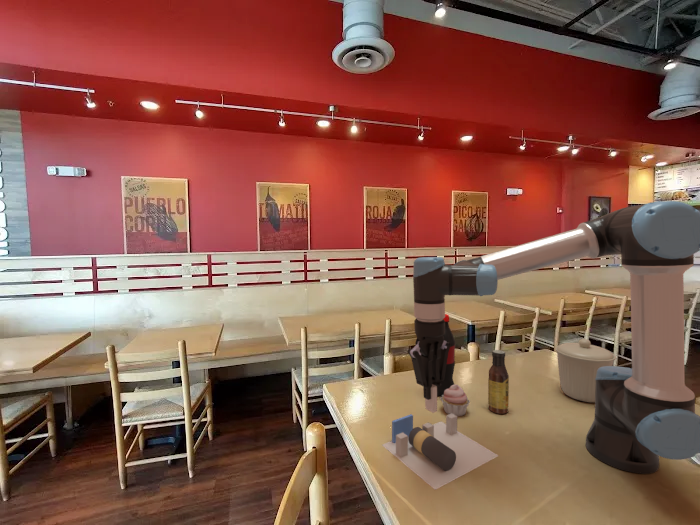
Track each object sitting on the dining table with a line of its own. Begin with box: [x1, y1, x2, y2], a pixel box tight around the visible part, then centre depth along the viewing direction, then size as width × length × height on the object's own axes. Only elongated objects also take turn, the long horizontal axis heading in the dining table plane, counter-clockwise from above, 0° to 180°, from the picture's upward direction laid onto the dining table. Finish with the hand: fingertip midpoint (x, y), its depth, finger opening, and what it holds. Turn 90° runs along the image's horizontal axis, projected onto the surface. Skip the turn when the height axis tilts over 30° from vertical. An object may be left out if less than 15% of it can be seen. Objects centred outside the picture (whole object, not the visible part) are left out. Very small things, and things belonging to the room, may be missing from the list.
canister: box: [554, 338, 617, 404], centre depth 123 cm, size 18×18×21 cm
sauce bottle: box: [487, 349, 510, 415], centre depth 113 cm, size 7×6×20 cm
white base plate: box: [381, 413, 500, 491], centre depth 91 cm, size 20×23×7 cm
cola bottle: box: [437, 313, 456, 398], centre depth 125 cm, size 8×8×30 cm
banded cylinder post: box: [408, 426, 456, 471], centre depth 88 cm, size 12×5×5 cm, turn 31°
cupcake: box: [439, 383, 471, 417], centre depth 111 cm, size 9×9×10 cm
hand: (431, 409), depth 87 cm, fingers closed
